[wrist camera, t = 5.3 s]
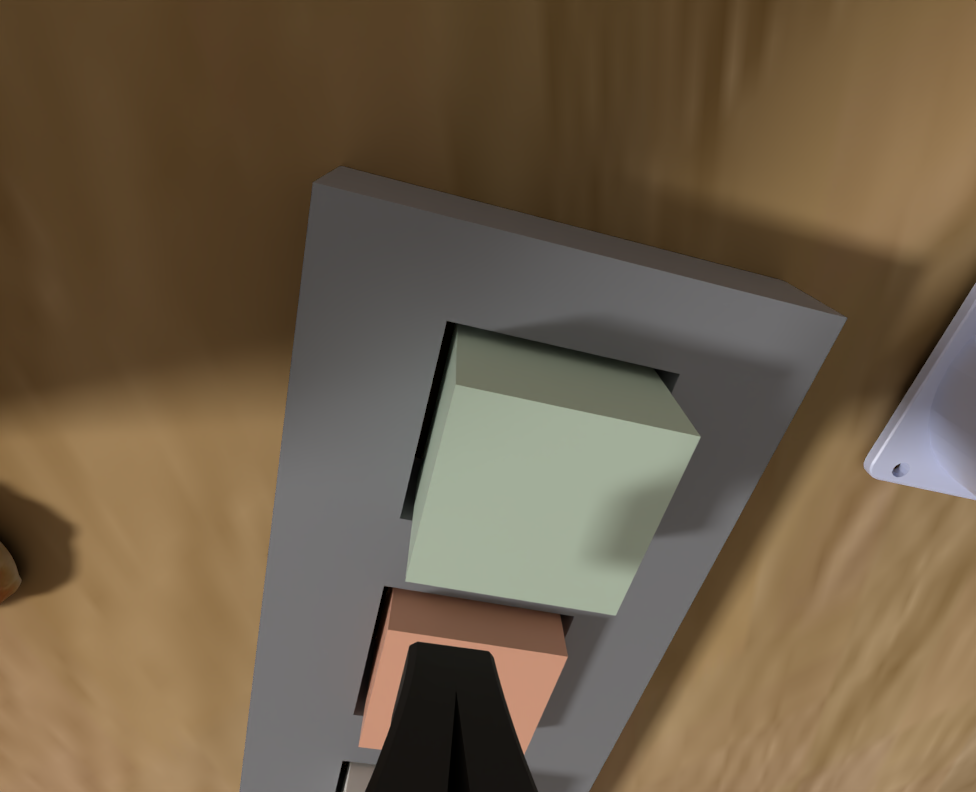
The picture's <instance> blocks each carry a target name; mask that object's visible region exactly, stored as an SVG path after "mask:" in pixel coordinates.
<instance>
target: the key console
mask: <svg viewBox="0 0 976 792" xmlns="http://www.w3.org/2000/svg"><path fill="white" fill-rule="evenodd" d="M846 320H847V317H845V316H843V315H842V314H840V313H838V312H837V311H835V310H833V309H831V308H830V307H828V306H826V305H825V304H823V303H821V302H819V301H818V300H816V299H814V298H813V297H811V296H809V295H808V294H806V293H804V292H802V291H801V290H799V289H797V288H796V287H794V286H792V285H790V284H789V283H787V282H785V281H783V280H779V279H775V278H771V277H767V276H763V275H760V274H756V273H752V272H748V271H744V270H740V269H737V268H733V267H729V266H725V265H721V264H717V263H713V262H710V261H706V260H702V259H698V258H694V257H690V256H686V255H683V254H679V253H675V252H671V251H667V250H663V249H659V248H656V247H652V246H648V245H644V244H640V243H636V242H633V241H629V240H625V239H621V238H617V237H613V236H609V235H606V234H602V233H598V232H594V231H590V230H586V229H582V228H579V227H575V226H571V225H567V224H563V223H559V222H555V221H552V220H548V219H544V218H540V217H536V216H532V215H529V214H525V213H521V212H517V211H513V210H509V209H505V208H502V207H498V206H494V205H490V204H486V203H482V202H478V201H475V200H471V199H467V198H463V197H459V196H455V195H451V194H448V193H444V192H440V191H436V190H432V189H428V188H425V187H421V186H417V185H413V184H409V183H405V182H401V181H398V180H394V179H390V178H386V177H382V176H378V175H374V174H371V173H367V172H363V171H359V170H355V169H351V168H347V167H344V166H339V167H337V168H336V169H334V170H332V171H331V172H329V173H327V174H326V175H324V176H322V177H321V178H319V179H317V180H316V181H314V182H313V186H312V194H311V202H310V210H309V219H308V227H307V235H306V244H305V252H304V260H303V269H302V277H301V285H300V294H299V302H298V310H297V318H296V327H295V335H294V343H293V352H292V360H291V368H290V377H289V385H288V393H287V401H286V410H285V418H284V426H283V435H282V443H281V451H280V460H279V468H278V476H277V485H276V493H275V501H274V509H273V518H272V526H271V534H270V543H269V551H268V559H267V568H266V576H265V584H264V593H263V601H262V609H261V617H260V626H259V634H258V642H257V651H256V659H255V667H254V676H253V684H252V692H251V700H250V709H249V717H248V725H247V734H246V742H245V750H244V759H243V767H242V775H241V784H240V792H341V789H342V785H343V781H344V777H345V773H346V772H341V771H340V769H341V765H342V761H350V762H358V763H367V764H375V765H376V763H377V760H378V758H379V755H380V752H381V750H379V749H371V748H362V747H358V746H359V740H360V734H361V727H362V721H363V715H364V709H365V702H366V696H367V690H368V684H369V677H370V671H371V665H372V659H373V652H374V646H375V640H374V639H371V638H372V634H373V630H374V626H375V622H376V617H377V613H378V609H379V605H380V600H381V596H382V592H383V588H384V586H388V587H394V588H400V589H407V590H413V591H419V592H425V593H431V594H438V595H444V596H450V597H456V598H463V599H469V600H475V601H481V602H487V603H494V604H500V605H506V606H512V607H519V608H525V609H531V610H537V611H543V612H550V613H556V614H560V616H561V622H562V627H563V632H564V638H565V643H566V648H567V654H568V658H567V660H566V662H565V665H564V667H563V669H562V671H561V674H560V676H559V678H558V680H557V683H556V685H555V687H554V689H553V692H552V694H551V696H550V698H549V700H548V703H547V705H546V707H545V709H544V712H543V714H542V716H541V718H540V721H539V723H538V725H537V727H536V730H535V732H534V734H533V736H532V739H531V741H530V743H529V745H528V747H527V750H526V752H525V754H524V756H525V759H526V761H527V764H528V767H529V769H530V772H531V774H532V777H533V780H534V782H535V785H536V787H537V790H538V792H589V791H590V789H591V787H592V785H593V783H594V782H595V780H596V778H597V776H598V774H599V772H600V771H601V769H602V767H603V765H604V763H605V761H606V760H607V758H608V756H609V754H610V752H611V750H612V749H613V747H614V745H615V743H616V741H617V739H618V738H619V736H620V734H621V732H622V730H623V728H624V727H625V725H626V723H627V721H628V719H629V717H630V716H631V714H632V712H633V710H634V708H635V706H636V705H637V703H638V701H639V699H640V697H641V695H642V694H643V692H644V690H645V688H646V686H647V684H648V683H649V681H650V679H651V677H652V675H653V673H654V672H655V670H656V668H657V666H658V664H659V662H660V661H661V659H662V657H663V655H664V653H665V651H666V650H667V648H668V646H669V644H670V642H671V640H672V639H673V637H674V635H675V633H676V631H677V629H678V628H679V626H680V624H681V622H682V620H683V618H684V617H685V615H686V613H687V611H688V609H689V607H690V606H691V604H692V602H693V600H694V598H695V597H696V595H697V593H698V591H699V589H700V587H701V586H702V584H703V582H704V580H705V578H706V576H707V575H708V573H709V571H710V569H711V567H712V565H713V564H714V562H715V560H716V558H717V556H718V554H719V553H720V551H721V549H722V547H723V545H724V543H725V542H726V540H727V538H728V536H729V534H730V532H731V531H732V529H733V527H734V525H735V523H736V521H737V520H738V518H739V516H740V514H741V512H742V510H743V509H744V507H745V505H746V503H747V501H748V499H749V498H750V496H751V494H752V492H753V490H754V488H755V487H756V485H757V483H758V481H759V479H760V477H761V476H762V474H763V472H764V470H765V468H766V466H767V465H768V463H769V461H770V459H771V457H772V455H773V454H774V452H775V450H776V448H777V446H778V444H779V443H780V441H781V439H782V437H783V435H784V433H785V432H786V430H787V428H788V426H789V424H790V423H791V421H792V419H793V417H794V415H795V413H796V412H797V410H798V408H799V406H800V404H801V402H802V401H803V399H804V397H805V395H806V393H807V391H808V390H809V388H810V386H811V384H812V382H813V380H814V379H815V377H816V375H817V373H818V371H819V369H820V368H821V366H822V364H823V362H824V360H825V358H826V357H827V355H828V353H829V351H830V349H831V347H832V346H833V344H834V342H835V340H836V338H837V336H838V335H839V333H840V331H841V329H842V327H843V325H844V324H845V322H846ZM447 321H450V322H454V323H459V324H463V325H467V326H472V327H476V328H480V329H485V330H489V331H494V332H498V333H502V334H507V335H511V336H515V337H520V338H524V339H529V340H533V341H537V342H542V343H546V344H551V345H555V346H559V347H564V348H568V349H572V350H577V351H581V352H586V353H590V354H594V355H599V356H603V357H607V358H612V359H616V360H621V361H625V362H629V363H634V364H638V365H642V366H647V367H651V368H654V370H655V371H656V373H657V374H658V375H659V377H660V378H661V380H662V381H663V383H664V384H665V386H666V387H667V388H668V390H669V391H670V393H671V394H672V396H673V397H674V399H675V400H676V402H677V403H678V404H679V406H680V407H681V409H682V410H683V412H684V413H685V415H686V416H687V417H688V419H689V420H690V422H691V423H692V425H693V426H694V428H695V429H696V430H697V432H698V433H699V435H700V436H701V438H700V440H699V442H698V444H697V446H696V448H695V450H694V452H693V454H692V456H691V459H690V461H689V463H688V465H687V467H686V469H685V471H684V473H683V475H682V477H681V480H680V482H679V484H678V486H677V488H676V490H675V492H674V494H673V496H672V498H671V500H670V503H669V505H668V507H667V509H666V511H665V513H664V515H663V517H662V519H661V521H660V524H659V526H658V528H657V530H656V532H655V534H654V536H653V538H652V540H651V542H650V545H649V547H648V549H647V551H646V553H645V555H644V557H643V559H642V561H641V563H640V566H639V568H638V570H637V572H636V574H635V576H634V578H633V580H632V582H631V584H630V587H629V589H628V591H627V593H626V595H625V597H624V599H623V601H622V603H621V605H620V608H619V610H618V612H617V614H616V616H615V615H609V614H603V613H596V612H590V611H584V610H578V609H572V608H566V607H560V606H553V605H547V604H541V603H535V602H529V601H523V600H517V599H510V598H504V597H498V596H492V595H486V594H480V593H474V592H467V591H461V590H455V589H449V588H443V587H437V586H431V585H424V584H418V583H412V582H406V581H405V579H406V570H407V562H408V553H409V545H410V537H411V528H412V520H413V511H414V503H415V494H416V486H417V478H418V474H419V470H420V466H421V462H422V459H420V458H415V453H416V448H417V444H418V440H419V436H420V432H421V427H422V423H423V419H424V415H425V410H426V406H427V402H428V398H429V394H430V389H431V385H432V381H433V377H434V372H435V368H436V364H437V360H438V356H439V351H440V347H441V343H442V339H443V334H444V330H445V326H446V322H447Z"/></svg>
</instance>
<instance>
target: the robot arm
mask: <svg viewBox="0 0 976 792" xmlns="http://www.w3.org/2000/svg"><path fill="white" fill-rule="evenodd" d="M900 463H901V464H900ZM898 464H900V465H899V466H898V467H897V468H896V469H893V468H894V467H895V466H896V465H898ZM864 469H865V470H866V471H867V472H868V473H869V474H870V475H871V476H872V477H873V478H875V479H878V480H883V481H888V482H892V483H897V484H902V485H907V486H911V487H916V488H921V489H925V490H930V491H935V492H940V493H944V494H949V495H954V496H958V497H963V498H968V499H973V500H976V283H975V285H974V286H973V288H972V289H971V291H970V293H969V294H968V296H967V297H966V299H965V301H964V302H963V304H962V305H961V307H960V309H959V310H958V312H957V313H956V315H955V316H954V318H953V320H952V321H951V323H950V324H949V326H948V328H947V329H946V331H945V332H944V334H943V336H942V337H941V339H940V340H939V342H938V344H937V345H936V347H935V348H934V350H933V352H932V353H931V355H930V356H929V358H928V359H927V361H926V363H925V364H924V366H923V367H922V369H921V371H920V372H919V374H918V375H917V377H916V379H915V380H914V382H913V383H912V385H911V387H910V388H909V390H908V391H907V393H906V395H905V396H904V398H903V399H902V401H901V402H900V404H899V406H898V407H897V409H896V410H895V412H894V414H893V415H892V417H891V418H890V420H889V422H888V423H887V425H886V426H885V428H884V430H883V431H882V433H881V434H880V436H879V438H878V439H877V441H876V442H875V444H874V445H873V447H872V449H871V450H870V452H869V453H868V455H867V457H866V458H865V461H864ZM365 792H538V790H537V787H536V785H535V782H534V780H533V777H532V774H531V772H530V769H529V767H528V764H527V761H526V759H525V756H524V753H523V751H522V748H521V745H520V742H519V739H518V736H517V734H516V731H515V728H514V725H513V722H512V719H511V716H510V713H509V709H508V706H507V703H506V700H505V697H504V693H503V690H502V686H501V683H500V679H499V676H498V672H497V668H496V664H495V660H494V657H493V655H492V654H491V653H490V652H489V651H485V650H477V649H470V648H462V647H455V646H448V645H440V644H433V643H425V642H418V641H417V642H415V643H413V644H411V645H409V649H408V653H407V657H406V661H405V665H404V669H403V673H402V677H401V681H400V685H399V689H398V693H397V697H396V701H395V705H394V709H393V714H392V719H391V725H390V728H389V731H388V734H387V736H386V739H385V742H384V744H383V747H382V750H381V752H380V755H379V758H378V760H377V763H376V766H375V768H374V771H373V773H372V776H371V778H370V781H369V783H368V785H367V788H366V790H365Z"/></svg>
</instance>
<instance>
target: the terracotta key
mask: <svg viewBox="0 0 976 792" xmlns="http://www.w3.org/2000/svg"><path fill="white" fill-rule="evenodd" d="M417 641H418V642H425V643H433V644H440V645H448V646H455V647H462V648H470V649H477V650H485V651H489V652H490V653H491V654H492V655H493V657H494V660H495V664H496V668H497V672H498V676H499V679H500V683H501V686H502V690H503V693H504V697H505V700H506V703H507V706H508V709H509V713H510V716H511V719H512V722H513V725H514V728H515V731H516V734H517V736H518V739H519V742H520V745H521V748H522V751H523V753H524V754H525V752H526V750H527V747H528V745H529V743H530V741H531V739H532V736H533V734H534V732H535V730H536V727H537V725H538V723H539V721H540V718H541V716H542V714H543V712H544V709H545V707H546V705H547V703H548V700H549V698H550V696H551V694H552V692H553V689H554V687H555V685H556V683H557V680H558V678H559V676H560V674H561V671H562V669H563V667H564V665H565V662H566V660H567V658H568V654H567V648H566V643H565V638H564V632H563V627H562V622H561V616H560V614H556V613H550V612H543V611H537V610H531V609H525V608H519V607H512V606H506V605H500V604H494V603H487V602H481V601H475V600H469V599H463V598H456V597H450V596H444V595H438V594H431V593H425V592H419V591H413V590H407V589H400V588H394V587H388V590H387V594H386V598H385V602H384V606H383V610H382V615H381V619H380V623H379V627H378V631H377V635H376V640H375V646H374V652H373V659H372V665H371V671H370V677H369V684H368V690H367V696H366V702H365V709H364V715H363V721H362V727H361V734H360V740H359V746H358V747H362V748H371V749H379V750H382V747H383V744H384V742H385V739H386V736H387V734H388V731H389V728H390V725H391V719H392V714H393V709H394V705H395V701H396V697H397V693H398V689H399V685H400V681H401V677H402V673H403V669H404V665H405V661H406V657H407V653H408V649H409V645H411V644H413V643H415V642H417Z"/></svg>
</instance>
